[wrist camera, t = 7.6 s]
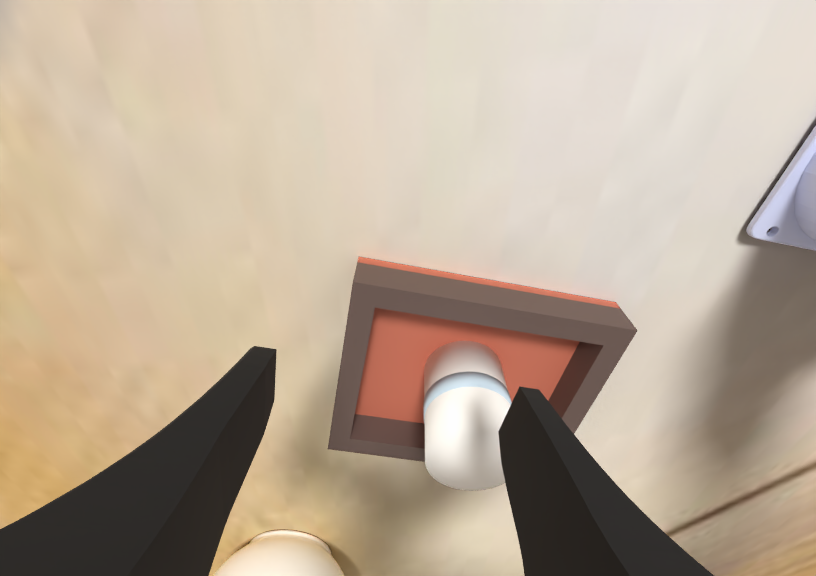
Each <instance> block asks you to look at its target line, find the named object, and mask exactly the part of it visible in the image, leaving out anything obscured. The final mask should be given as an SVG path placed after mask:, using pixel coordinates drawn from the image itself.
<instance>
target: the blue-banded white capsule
mask: <svg viewBox="0 0 816 576" xmlns="http://www.w3.org/2000/svg"><path fill="white" fill-rule="evenodd" d="M511 403H512V402H511V398H510V394H509V392H508V390H507V386H506V382H505V378H504V373H503V369H502V365H501V362H500V359H499V357H498V356H497V354H496V353H495V352H494V351H493V350H492V349H491V348H489V347H487V346H486V345H483V344H481V343H478V342H473V341H456V342H451V343H448V344H445V345H443V346H441V347H439V348H438V349H436V350H435V351H434V352H433V353H432V354H431V355H430V356H429V357H428V359H427V361H426V363H425V367H424V403H423V405H424V424H425V465H426V468H427V471H428V472H429V474H430V475H431V476H432V477H433V478H434V479H435V480H436V481H438V482H439V483H441V484H443V485H445V486H448V487H451V488H454V489H459V490H469V491H474V490H485V489H490V488H493V487H497V486H499V485H502V484H504V483H505V478H504V474H503V469H502V463H501V455H500V445H499V433H498V431H499V429H500V427H501V425H502V423H503V421H504V418H505V416H506V414H507V412H508V410H509V408H510V406H511Z"/></svg>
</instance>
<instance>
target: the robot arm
mask: <svg viewBox="0 0 816 576" xmlns="http://www.w3.org/2000/svg"><path fill="white" fill-rule="evenodd" d="M771 227H772V229H771V230H770V231H769V232H767V231H768V230H769V229H770V228H771ZM747 233H748V235H750V236H751V237H753V238H755V239H760V240H765V241H770V242H775V243H780V244H784V245H789V246H794V247H799V248H804V249H809V250H814V251H816V126H815V127H814V129H813V130H812V132H811V133H810V135H809V136H808V138H807V139H806V141H805V142H804V143H803V145H802V146H801V148H800V149H799V151H798V152H797V154H796V155H795V157H794V158H793V160H792V161H791V163H790V164H789V166H788V167H787V169H786V170H785V172H784V173H783V174H782V176H781V177H780V179H779V180H778V182H777V183H776V185H775V186H774V188H773V189H772V191H771V192H770V194H769V195H768V197H767V198H766V200H765V201H764V203H763V204H762V206H761V207H760V208H759V210H758V211H757V213H756V214H755V216H754V217H753V219H752V220H751V222H750V223H749V225H748V227H747ZM275 370H276V349H270V348H264V347H257V346H254V347H252V348H251V349H250V350H249V351H248V352H247V353H246V354H245V355H244V356H243V357H242V358H241V359H240V360H239V361H238V362H237V363H236V364H235V365H234V366H233V367H232V368H231V369H230V370H229V371H228V372H227V373H226V374H225V375H224V376H223V377H222V378H221V379H220V380H219V381H218V382H217V383H216V384H215V385H214V386H213V387H212V388H210V389H209V390H208V391H207V392H206V393H205V394H204V395H203V396H202V397H201V398H200V399H198V400H197V401H196V402H195V403H194V404H193V405H191V406H190V407H189V408H188V409H187V410H185V411H184V412H183V413H182V414H181V415H179V416H178V417H177V418H176V419H175V420H173V421H172V422H171V423H170V424H168V425H167V426H166V427H165V428H163V429H162V430H161V431H159V432H158V433H157V434H155V435H154V436H153V437H151V438H150V439H149V440H147V441H146V442H145V443H143V444H142V445H140V446H139V447H138V448H136V449H135V450H133V451H132V452H131V453H129V454H128V455H126V456H125V457H123V458H122V459H120V460H119V461H117V462H116V463H114V464H113V465H111V466H110V467H108V468H107V469H105V470H104V471H102V472H100V473H99V474H97V475H96V476H94V477H92V478H91V479H89V480H88V481H86V482H84V483H83V484H81V485H79V486H78V487H76V488H74V489H72V490H71V491H69V492H67V493H65V494H64V495H62V496H60V497H59V498H57V499H55V500H53V501H52V502H50V503H48V504H46V505H45V506H43V507H41V508H40V509H38V510H36V511H34V512H32V513H31V514H29V515H27V516H25V517H23V518H21V519H20V520H18V521H16V522H14V523H12V524H10V525H8V526H6V527H4V528H2V529H0V576H208V575H209V572H210V569H211V566H212V563H213V560H214V557H215V554H216V551H217V548H218V545H219V542H220V539H221V536H222V533H223V530H224V527H225V524H226V522H227V519H228V517H229V514H230V511H231V509H232V507H233V504H234V502H235V500H236V497H237V495H238V493H239V490H240V488H241V486H242V484H243V481H244V479H245V477H246V474H247V472H248V470H249V467H250V465H251V463H252V461H253V458H254V456H255V454H256V451H257V449H258V447H259V444H260V442H261V440H262V437H263V435H264V432H265V429H266V426H267V422H268V419H269V416H270V413H271V409H272V406H273V403H274V394H275ZM498 433H499V445H500V455H501V463H502V469H503V474H504V478H505V483H506V487H507V491H508V496H509V500H510V504H511V509H512V513H513V517H514V522H515V526H516V530H517V535H518V539H519V544H520V549H521V554H522V559H523V566H524V574H525V576H714V575H713V574H711V573H710V572H709V571H708V570H706V569H705V568H704V567H703V566H702V565H701V564H699V563H698V562H697V561H696V560H695V559H693V558H692V557H691V556H690V555H689V554H688V553H686V552H685V551H684V550H683V549H682V548H681V547H680V546H679V545H678V544H676V543H675V542H674V541H673V540H672V539H671V538H670V537H669V536H667V535H666V534H665V533H664V532H663V531H662V530H661V529H660V528H659V527H658V526H657V525H656V524H655V523H653V522H652V521H651V520H650V519H649V518H648V517H647V516H646V515H645V514H644V513H643V512H642V511H641V510H640V509H639V508H638V507H637V506H636V505H635V504H634V503H633V502H632V501H631V500H630V499H629V498H628V497H627V496H626V494H625V493H624V492H623V491H622V490H621V489H620V488H619V487H618V486H617V485H616V484H615V483H614V481H613V480H612V479H611V478H610V477H609V476H608V475H607V474H606V472H605V471H604V470H603V469H602V468H601V467H600V466H599V464H598V463H597V462H596V461H595V460H594V458H593V457H592V456H591V455H590V454H589V452H588V451H587V450H586V449H585V448H584V446H583V445H582V444H581V443H580V441H579V440H578V439H577V438H576V436H575V435H574V434H573V433H572V431H571V430H570V429H569V427H568V426H567V425H566V424H565V422H564V421H563V420H562V418H561V417H560V416H559V414H558V413H557V412H556V411H555V409H554V408H553V407H552V405H551V404H550V403H549V401H548V400H547V399H546V398H545V396H544V395H543V394H542V393H541V391H540V390H539V389H533V388H526V387H520V386H519V389H518V391H517V393H516V395H515V397H514V399H513V401H512V403H511V406H510V408H509V410H508V412H507V414H506V416H505V418H504V421H503V423H502V425H501V427H500V429H499V431H498Z"/></svg>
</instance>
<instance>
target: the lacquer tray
mask: <svg viewBox="0 0 816 576" xmlns="http://www.w3.org/2000/svg"><path fill="white" fill-rule="evenodd" d="M636 332H637V329H636V328H635V327H634V325H633V324H632V323H631V322H630V320H629V319H628V318H627V316H626V315H625V314H624V312H623V311H622V310H621V308H620V307H619V306H618V305H617V303H616V302H611V301H606V300H600V299H594V298H589V297H583V296H577V295H572V294H566V293H561V292H555V291H549V290H544V289H538V288H532V287H527V286H521V285H515V284H510V283H504V282H499V281H493V280H487V279H482V278H476V277H470V276H465V275H459V274H454V273H448V272H442V271H437V270H431V269H425V268H420V267H414V266H408V265H403V264H397V263H392V262H386V261H380V260H375V259H369V258H363V257H359V258H358V262H357V267H356V271H355V276H354V280H353V285H352V292H351V299H350V305H349V312H348V319H347V325H346V332H345V339H344V345H343V352H342V358H341V365H340V372H339V378H338V385H337V392H336V398H335V405H334V411H333V418H332V425H331V431H330V438H329V445H328V449H332V450H339V451H347V452H355V453H362V454H370V455H378V456H385V457H393V458H401V459H408V460H416V461H424V462H425V424H424V405H423V403H424V367H425V363H426V361H427V359H428V357H429V356H430V355H431V354H432V353H433V352H434V351H435V350H436V349H438V348H439V347H441V346H443V345H445V344H448V343H451V342H456V341H473V342H478V343H481V344H483V345H486V346H487V347H489V348H491V349H492V350H493V351H494V352H495V353H496V354H497V356H498V357H499V359H500V362H501V365H502V369H503V373H504V378H505V382H506V386H507V390H508V392H509V394H510V398H511V402H512V401H513V399H514V397H515V395H516V393H517V391H518V389H519V386H520V387H526V388H533V389H539V390H540V391H541V393H542V394H543V395H544V396H545V398H546V399H547V400H548V401H549V403H550V404H551V405H552V407H553V408H554V409H555V411H556V412H557V413H558V414H559V416H560V417H561V418H562V420H563V421H564V422H565V424H566V425H567V426H568V427H569V429H570V430H571V431H572V433H573V434H574V433H575V431H576V430H577V428H578V426H579V425H580V423H581V422H582V420H583V418H584V417H585V415H586V413H587V412H588V410H589V409H590V407H591V405H592V404H593V402H594V400H595V399H596V397H597V396H598V394H599V392H600V391H601V389H602V387H603V386H604V384H605V382H606V381H607V379H608V378H609V376H610V374H611V373H612V371H613V369H614V368H615V366H616V365H617V363H618V361H619V360H620V358H621V356H622V355H623V353H624V352H625V350H626V348H627V347H628V345H629V343H630V342H631V340H632V339H633V337H634V335H635V334H636Z"/></svg>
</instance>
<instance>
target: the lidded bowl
mask: <svg viewBox="0 0 816 576" xmlns="http://www.w3.org/2000/svg"><path fill="white" fill-rule="evenodd" d="M213 576H344V574H343V572H342V570H341V568H340V566H339V565H338V563H337V562H336V561H335V559H334V558H333V557H332V556H331V550H330V548H329V547H328V545H327V544H326V543H325V542H323V541H322V540H321V539H319V538H317V537H315V536H313V535H310V534H308V533H304V532H300V531H294V530H273V531H268V532H264V533H261V534H259V535H257V536H256V537H254V538H253V539H252V540H251V541H250V543H249V544H248V545H246V546H244V547H243V548H241V549H240V550H238V551H237V552H236V553H234V554H233V555H231V556H230V557H229V558H228V559H227V560H226V561H225V562H224V563H223V564H222V565H221V566H220V567H219V568H218V569H217V571H216V572H215V573H214V575H213Z"/></svg>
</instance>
